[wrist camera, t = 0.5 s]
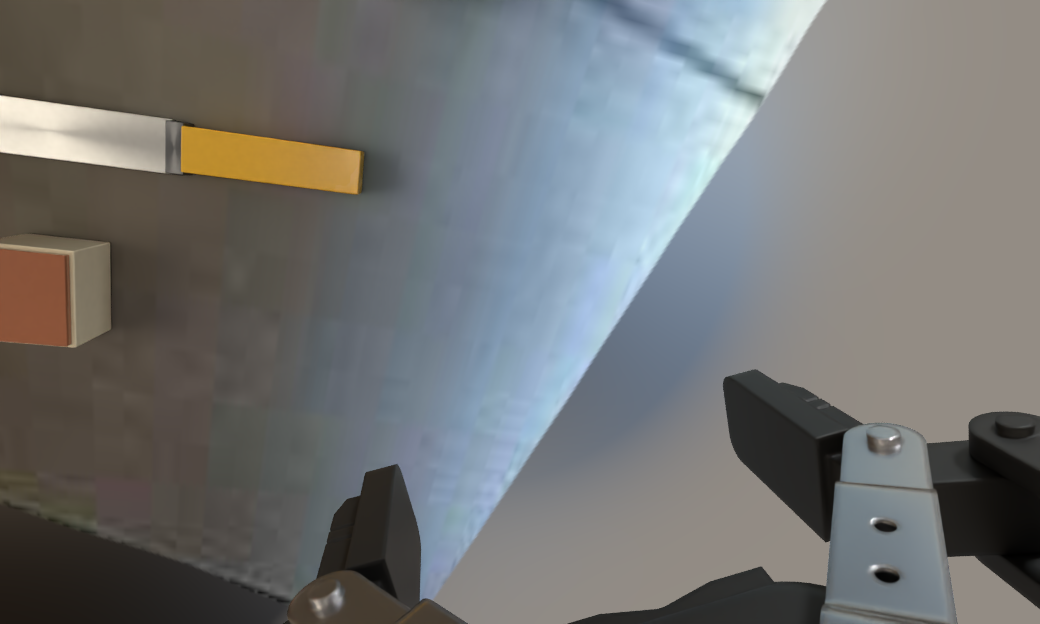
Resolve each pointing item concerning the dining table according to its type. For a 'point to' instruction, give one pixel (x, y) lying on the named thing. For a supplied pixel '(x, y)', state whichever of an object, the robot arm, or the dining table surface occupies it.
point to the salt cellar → (54, 290)
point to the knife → (170, 146)
